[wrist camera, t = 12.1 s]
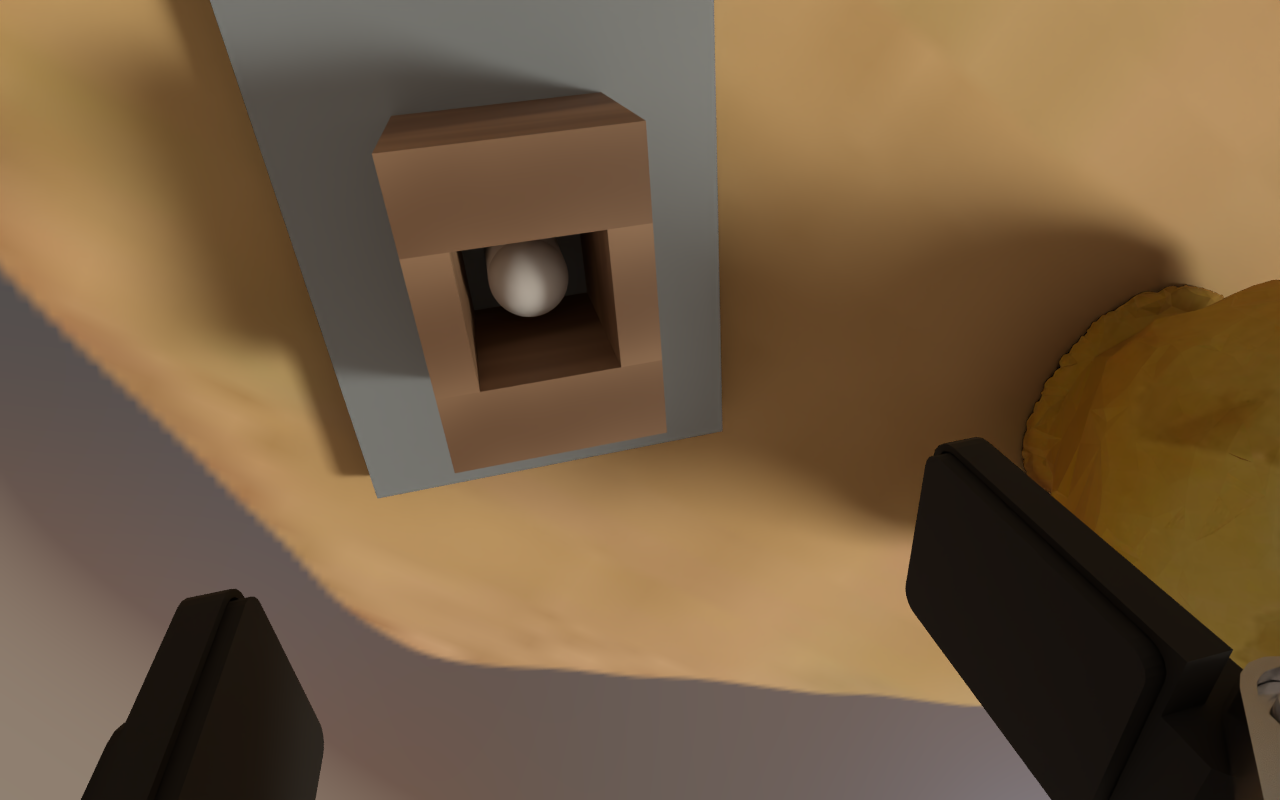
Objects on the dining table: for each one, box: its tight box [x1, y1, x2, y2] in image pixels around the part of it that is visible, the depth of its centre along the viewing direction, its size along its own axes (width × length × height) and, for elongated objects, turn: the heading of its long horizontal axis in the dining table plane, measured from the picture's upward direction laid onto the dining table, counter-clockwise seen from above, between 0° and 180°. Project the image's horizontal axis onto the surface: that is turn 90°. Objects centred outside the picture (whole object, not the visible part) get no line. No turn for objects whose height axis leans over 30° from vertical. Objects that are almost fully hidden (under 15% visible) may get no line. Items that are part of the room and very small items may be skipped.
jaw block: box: [372, 92, 667, 473], centre depth 21 cm, size 9×6×6 cm
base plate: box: [210, 0, 722, 498], centre depth 23 cm, size 18×14×6 cm
